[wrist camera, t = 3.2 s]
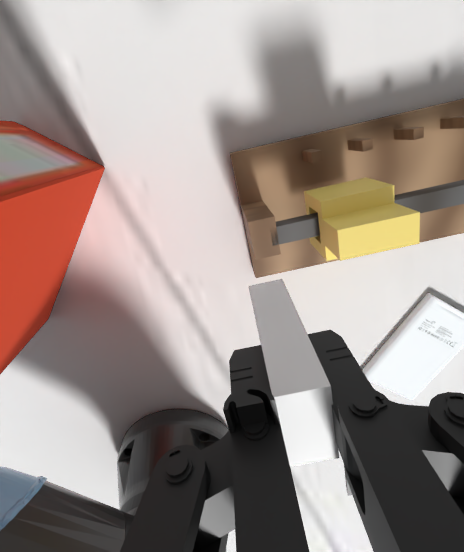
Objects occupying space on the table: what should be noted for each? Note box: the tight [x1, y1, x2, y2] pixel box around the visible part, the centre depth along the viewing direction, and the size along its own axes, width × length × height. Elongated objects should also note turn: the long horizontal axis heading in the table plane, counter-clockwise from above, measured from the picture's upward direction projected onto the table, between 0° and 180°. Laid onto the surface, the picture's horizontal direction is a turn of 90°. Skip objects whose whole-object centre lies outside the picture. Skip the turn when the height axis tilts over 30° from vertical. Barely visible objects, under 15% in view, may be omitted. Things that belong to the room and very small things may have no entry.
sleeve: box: [304, 177, 420, 261], centre depth 23 cm, size 5×4×7 cm
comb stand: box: [230, 99, 464, 278], centre depth 27 cm, size 25×12×9 cm, turn 102°
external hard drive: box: [362, 293, 464, 400], centre depth 39 cm, size 2×8×12 cm
